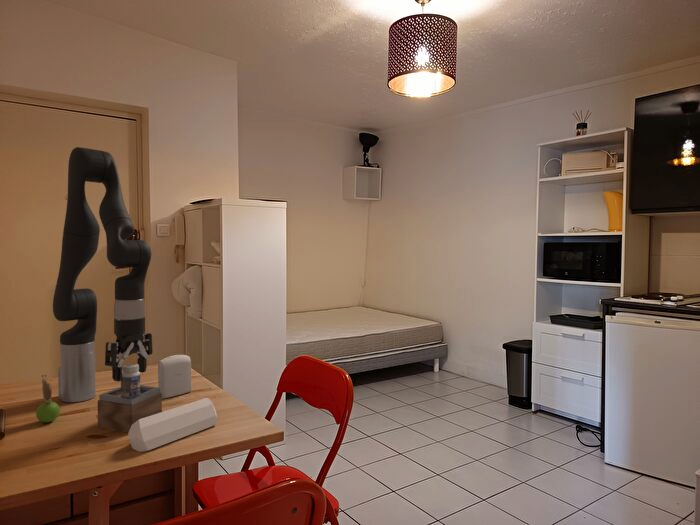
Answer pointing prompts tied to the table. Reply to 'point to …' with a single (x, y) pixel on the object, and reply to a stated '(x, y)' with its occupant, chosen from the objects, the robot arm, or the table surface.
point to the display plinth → (127, 408)
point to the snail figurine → (47, 405)
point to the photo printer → (174, 375)
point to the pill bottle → (130, 380)
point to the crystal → (172, 425)
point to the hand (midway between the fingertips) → (129, 376)
